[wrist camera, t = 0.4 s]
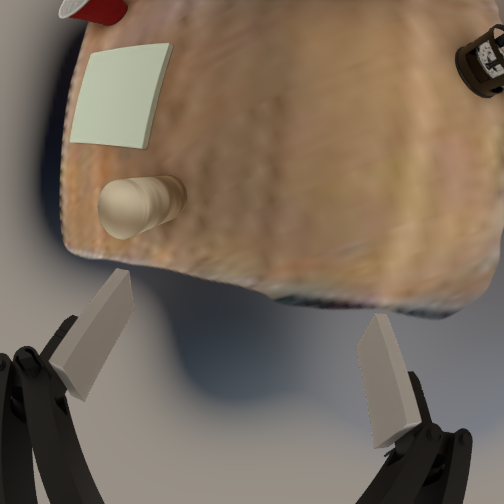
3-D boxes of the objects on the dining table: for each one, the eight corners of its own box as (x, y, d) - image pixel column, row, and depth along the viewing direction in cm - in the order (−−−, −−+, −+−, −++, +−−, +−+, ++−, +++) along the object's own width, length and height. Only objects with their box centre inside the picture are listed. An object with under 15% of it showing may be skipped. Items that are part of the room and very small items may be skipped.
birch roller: (151, 171, 39) (100, 176, 28) (190, 179, 38) (146, 185, 27) (145, 214, 41) (96, 231, 30) (182, 224, 41) (139, 245, 29)
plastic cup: (130, -14, 29) (97, -37, 17) (145, 8, 30) (108, -19, 19) (91, 19, 32) (54, 3, 21) (102, 44, 34) (60, 28, 22)
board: (96, 55, 34) (91, 53, 33) (173, 46, 32) (169, 42, 31) (75, 142, 40) (69, 142, 39) (147, 149, 38) (141, 148, 37)
